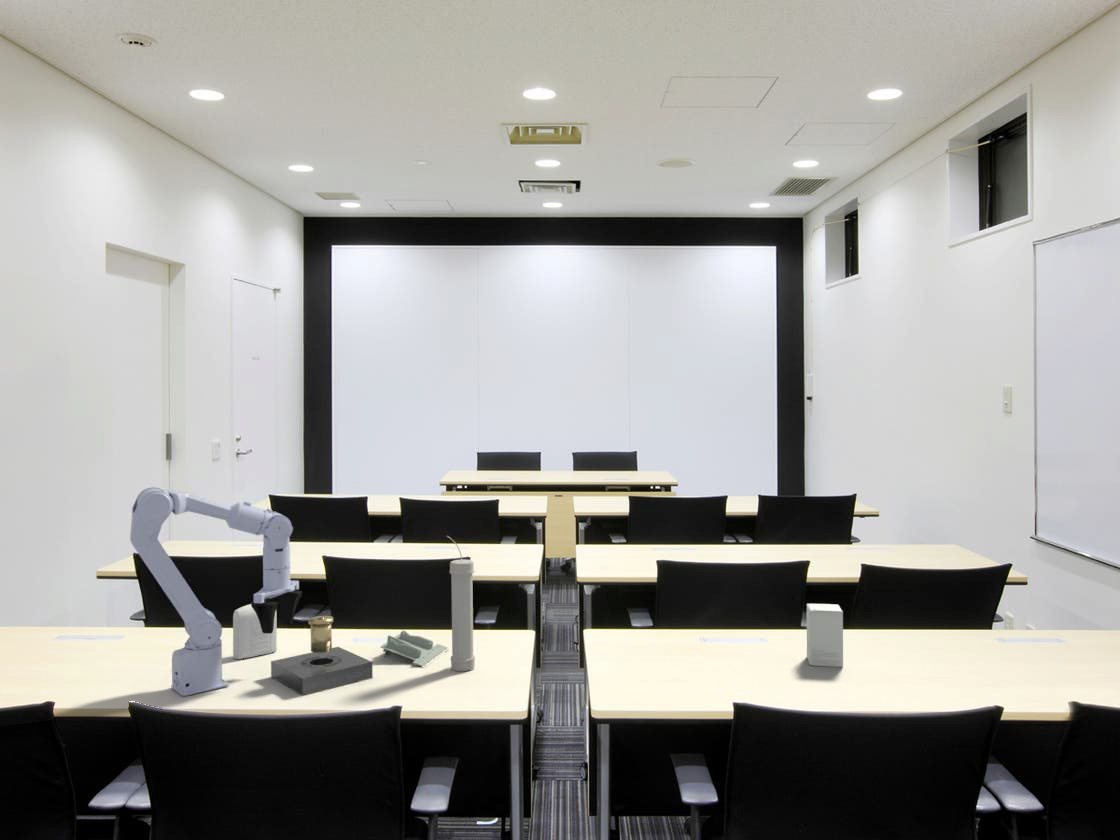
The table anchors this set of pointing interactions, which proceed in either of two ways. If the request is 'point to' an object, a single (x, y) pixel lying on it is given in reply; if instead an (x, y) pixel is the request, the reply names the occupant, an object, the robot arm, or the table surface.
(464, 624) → the pipe
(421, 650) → the metal bracket
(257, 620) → the white rounded block
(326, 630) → the round door knob
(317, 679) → the grey flat block
